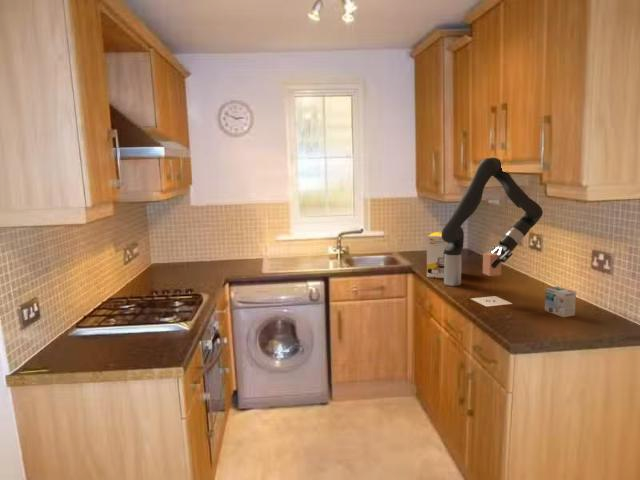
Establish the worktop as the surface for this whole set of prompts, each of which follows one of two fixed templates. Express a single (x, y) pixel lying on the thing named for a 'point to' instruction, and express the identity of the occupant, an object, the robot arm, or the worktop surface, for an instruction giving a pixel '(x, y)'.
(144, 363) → the worktop surface
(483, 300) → the cream square pad
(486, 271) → the terracotta block
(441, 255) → the packaging box
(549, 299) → the light bulb box
